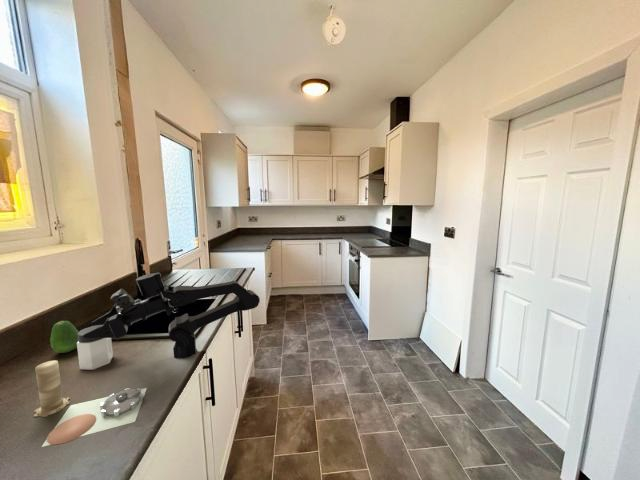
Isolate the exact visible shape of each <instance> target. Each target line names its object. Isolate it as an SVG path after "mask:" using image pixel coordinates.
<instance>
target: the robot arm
mask: <svg viewBox="0 0 640 480" xmlns="http://www.w3.org/2000/svg"><path fill="white" fill-rule="evenodd" d="M161 274H162V273H160V272H156V273H155V272H153V273H146V274H144V275H142V276H139V277H136V279H135V282H136V284H137V287H138V288H139V289H138V290H139V292H140V294H141V296H143V297H145V298H146V299H143V300H142V299H141V298H140V299H139V298H137V299H134V298H133V296H131V295H130V294H129V292H128V291H126V290H125V289H124V288H120V289H119V290H117V291H116V292H114V293H112V295H111V297H110V299H109V300H110V301H112V302H113V303H114V305H113V306H112V308H111V309H110V311H108V312H106V313H105V314H104V315H101V316H99V317H98V318H96V319H94V320H93V321H91V322H90V325H91V326H96V325H101V326H99V327H97V328H95V329H93V330H91V331H89V332H87V333H85V334H84V335H83V337H84V338H111V339H112V340H113V339H115V340H120V339H123V338H124V337H125V336H126V334H127V333H128V330H129V327H131V326H132V325H133V324H134V323H137V322H139V321H141V320H142V321H146V320H147V319H148V318H149V317H152V316H153V315H156V314H159V313H162V312H164V311H165V313H166V315H167V316H170V315H171V313H172V311H174V309H175V308H174V307H178V308H179V307H183V306H186V305H190V304H192V303H194V302H196V301H198V300H201V299H206V298H207V299H208V298H213V297H219V296H223V295H230V294H234V295H235V296H236V297H235V298H233V299H231V300H230V301H227V302H226V303H223V304H221V305H218V306H215V307H213V308H211V309H208V310H206V311H203V312H201V313H199V314H197V315H191V316H189V314H188V313H184V314H182V315H181V316H176V317H175V318H174V319H173V320H172V321H171V322H170V323H169V325H168V337H169V339H170V340H171V341H172V342H175V343H174V345H173V348H172V349H173V358H174V359H187V358H190V357H191V356H193V355H196V354H197V352H198V349H197V342H196V336H195V332H196V331H198V330H199V329H200V328H202V327H205V326H207V325H209V324H211V323H214V322H217V321H218V320H220V319H222V318H225V317H227V316H229V315H233V314H234V313H237V312H243V311H244V312H245V311H250V310H254V309H255V308H257V307H258V306H259V304H260V297H259V296H258V294H257V293H256V292H254V290H251V289H246V288H245V287H244V286H242V285H241V284H240V283H238V281H236V280H231V281H227V282H220V283H214V284H213V283H212V284H208V285H200V286H195V285H194V286H193V285H176V286H172V285H166V284H164V281H163V279H162V275H161ZM169 301H170V302H169ZM171 304H172V305H171Z"/></svg>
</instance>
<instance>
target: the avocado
mask: <svg viewBox="0 0 640 480" xmlns="http://www.w3.org/2000/svg"><path fill="white" fill-rule="evenodd" d="M78 332H79V330H78V329H77V328H76V327H75V326H74V324H73V323H71V322H70V321H69V320H60V321H58V322H56V323H55V324H53V327H52V328H51V334H50V338H49V341H50V347H51V349H52V350H53V351H54V352H55V353H57V354H58V353H60V354H65V353H69V352H72V351H73V350H75V349H77V342H78V337H77V333H78Z"/></svg>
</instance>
